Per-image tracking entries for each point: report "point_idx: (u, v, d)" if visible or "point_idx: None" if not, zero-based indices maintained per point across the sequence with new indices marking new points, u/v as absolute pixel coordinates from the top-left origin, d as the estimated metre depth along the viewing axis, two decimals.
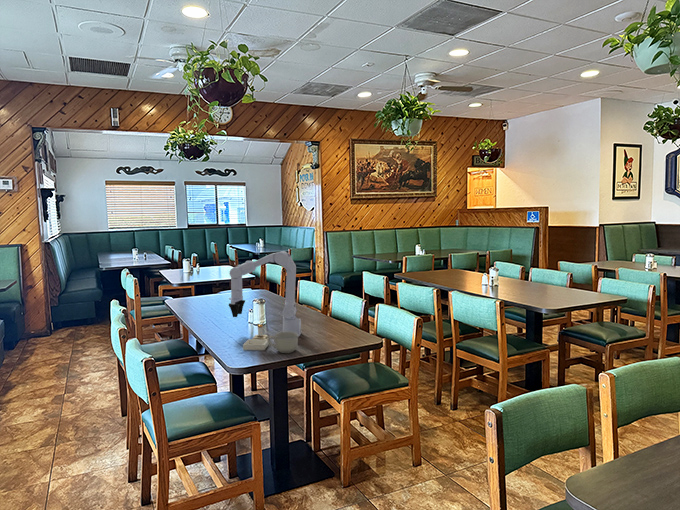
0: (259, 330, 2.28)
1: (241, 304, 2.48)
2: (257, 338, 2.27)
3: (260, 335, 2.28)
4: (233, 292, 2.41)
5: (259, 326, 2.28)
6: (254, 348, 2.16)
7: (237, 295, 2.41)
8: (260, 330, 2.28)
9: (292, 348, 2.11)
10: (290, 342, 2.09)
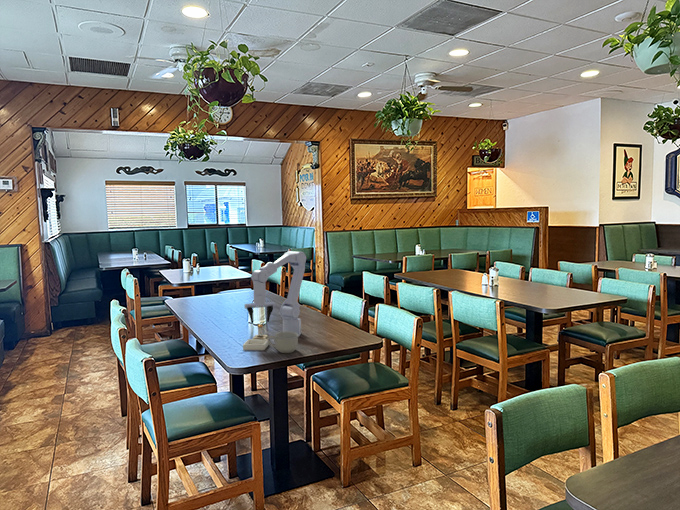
0: (259, 330, 2.28)
1: (267, 311, 2.28)
2: (257, 338, 2.27)
3: (260, 335, 2.28)
4: None
5: (259, 326, 2.28)
6: (254, 348, 2.16)
7: (254, 300, 2.26)
8: (260, 330, 2.28)
9: (292, 348, 2.11)
10: (290, 342, 2.09)
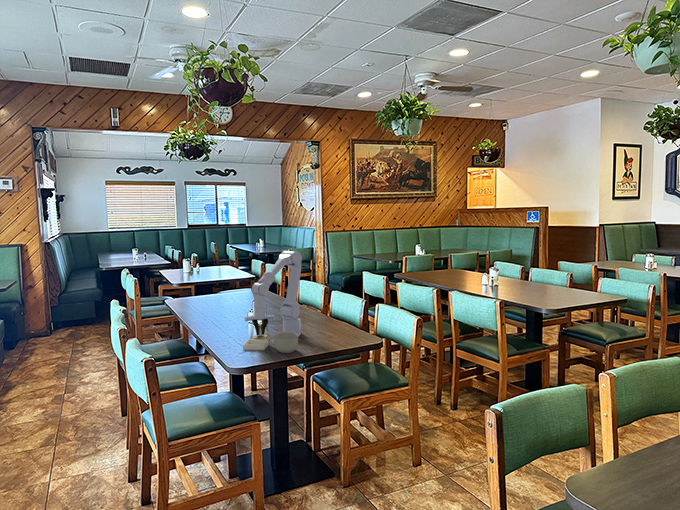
0: (259, 330, 2.28)
1: (263, 324, 2.28)
2: (257, 338, 2.27)
3: (260, 335, 2.28)
4: None
5: (259, 326, 2.28)
6: (254, 348, 2.16)
7: (255, 312, 2.26)
8: (260, 330, 2.28)
9: (292, 348, 2.11)
10: (290, 342, 2.09)
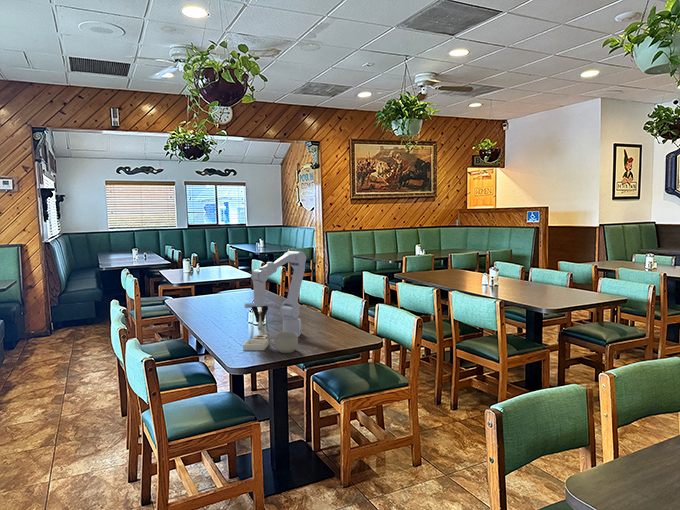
0: (259, 317, 2.28)
1: (262, 311, 2.28)
2: (257, 338, 2.27)
3: (260, 322, 2.28)
4: None
5: (259, 313, 2.27)
6: (254, 348, 2.16)
7: (254, 299, 2.26)
8: (260, 317, 2.28)
9: (292, 348, 2.11)
10: (290, 342, 2.09)
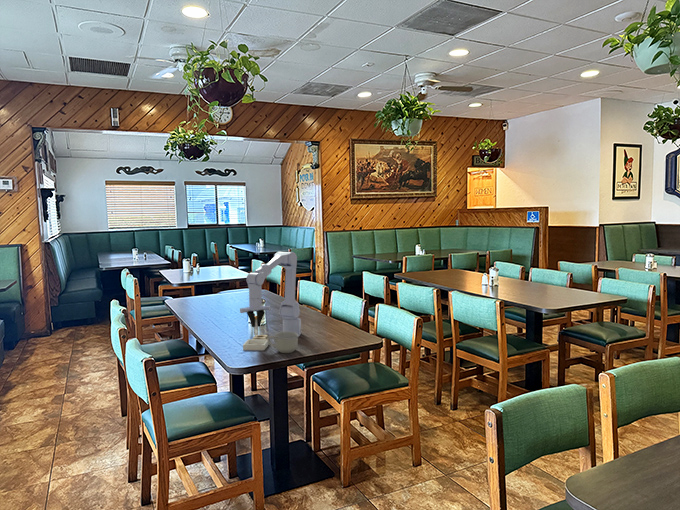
0: (255, 322, 2.19)
1: (259, 315, 2.20)
2: (257, 338, 2.27)
3: (256, 327, 2.20)
4: (249, 300, 2.19)
5: (255, 318, 2.19)
6: (254, 348, 2.16)
7: (251, 303, 2.17)
8: (256, 322, 2.19)
9: (292, 348, 2.11)
10: (290, 342, 2.09)
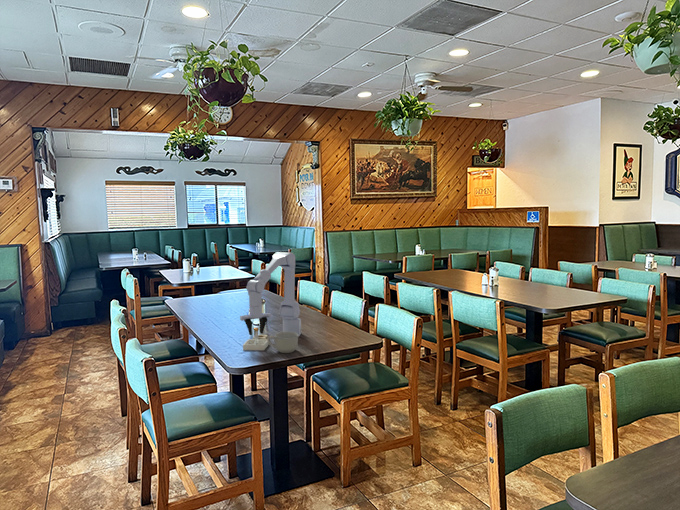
0: (255, 334, 2.20)
1: (262, 323, 2.20)
2: None
3: (256, 339, 2.20)
4: (249, 307, 2.19)
5: (255, 329, 2.19)
6: (254, 348, 2.16)
7: (251, 311, 2.17)
8: (256, 333, 2.20)
9: (292, 348, 2.11)
10: (290, 342, 2.09)
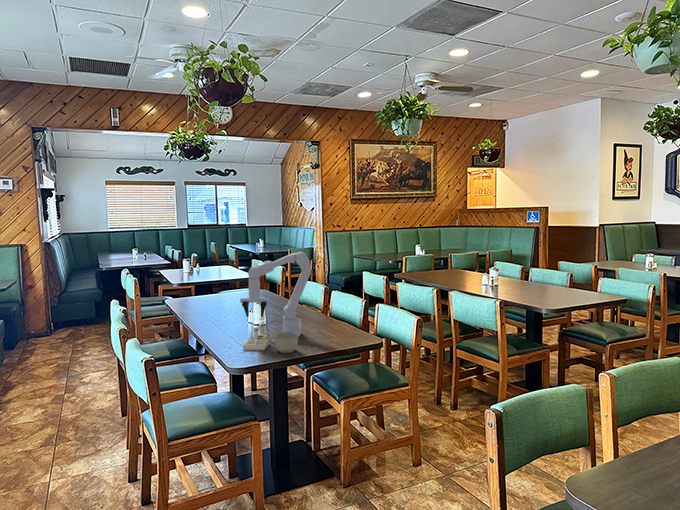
0: (255, 333, 2.20)
1: None
2: None
3: (256, 338, 2.20)
4: None
5: (256, 329, 2.20)
6: (254, 348, 2.16)
7: None
8: (256, 333, 2.20)
9: (292, 348, 2.11)
10: (290, 342, 2.09)
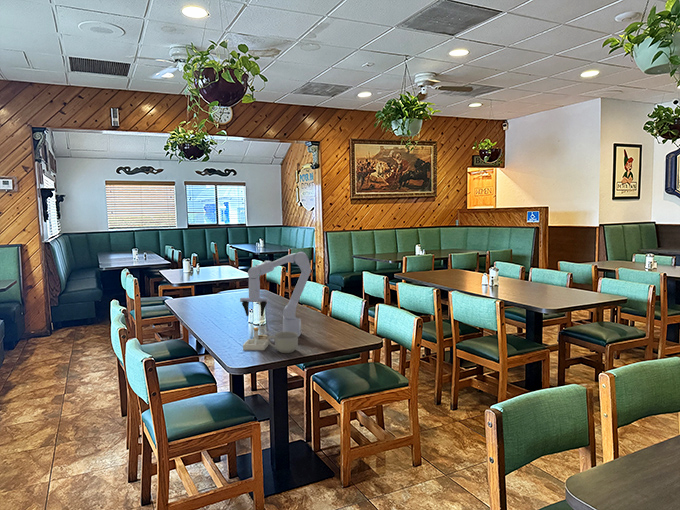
0: (255, 333, 2.20)
1: None
2: None
3: (256, 338, 2.20)
4: None
5: (255, 329, 2.19)
6: (254, 348, 2.16)
7: None
8: (256, 333, 2.20)
9: (292, 348, 2.11)
10: (290, 342, 2.09)
